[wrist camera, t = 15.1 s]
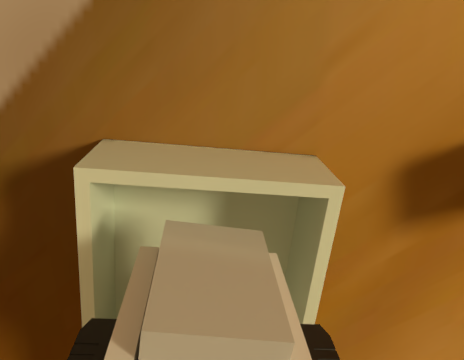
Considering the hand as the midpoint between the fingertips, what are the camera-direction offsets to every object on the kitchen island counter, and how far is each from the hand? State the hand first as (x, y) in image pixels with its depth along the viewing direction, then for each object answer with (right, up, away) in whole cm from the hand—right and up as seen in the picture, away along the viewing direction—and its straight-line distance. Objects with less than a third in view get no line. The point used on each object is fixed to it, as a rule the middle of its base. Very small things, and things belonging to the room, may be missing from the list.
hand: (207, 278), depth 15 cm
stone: (0, 0, 0) cm, 1 cm away
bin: (-1, 0, +6) cm, 6 cm away
